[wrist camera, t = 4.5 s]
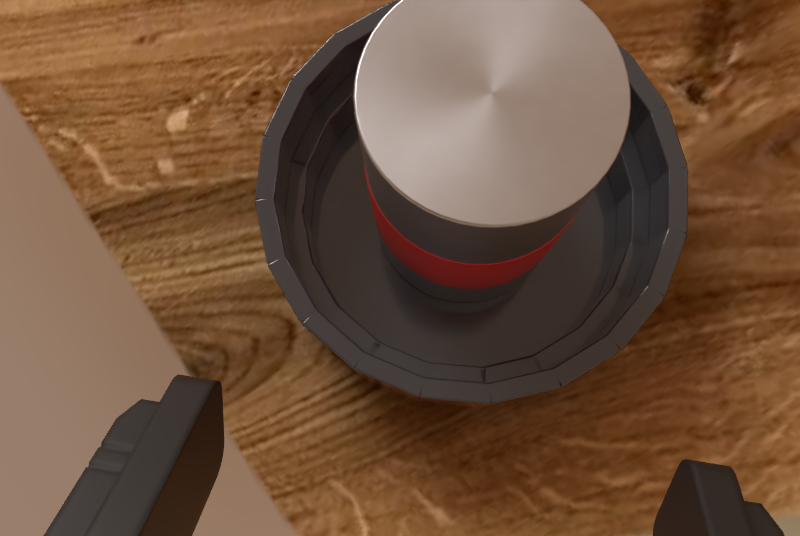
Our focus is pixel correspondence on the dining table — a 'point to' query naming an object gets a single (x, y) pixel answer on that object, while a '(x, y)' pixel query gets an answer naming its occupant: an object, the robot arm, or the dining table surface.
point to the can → (485, 134)
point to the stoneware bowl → (459, 321)
